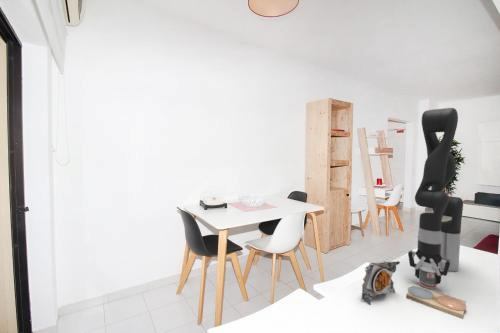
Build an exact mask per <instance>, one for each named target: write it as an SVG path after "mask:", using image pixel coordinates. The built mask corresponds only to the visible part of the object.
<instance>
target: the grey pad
mask: <svg viewBox="0 0 500 333" xmlns="http://www.w3.org/2000/svg"><path fill="white" fill-rule="evenodd" d="M417 286H418V285H417ZM417 286H412V285H410V286H409V287H408V288H407V293H408V292H409V293H410V294H412V295H413V296H415V297H418V298H421V299H433V298H434V295H433V293H432V292H430V291H429V290H430V289H429V290H427V289H428V288H426V289H424V288H425V287H423V286H420V287H417ZM422 287H423V288H422Z"/></svg>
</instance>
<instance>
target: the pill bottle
mask: <svg viewBox="0 0 500 333" xmlns="http://www.w3.org/2000/svg"><path fill="white" fill-rule="evenodd" d="M436 275H437V273H436V271H435V270H434V268H433V266H432V263H428V262H423V263H422V264H421V266H420V267H419V279H418V283H419V285H420V287H423V288H426V289H429V290H434V289H436V287H437V284H436Z"/></svg>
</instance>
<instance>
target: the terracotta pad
mask: <svg viewBox="0 0 500 333" xmlns="http://www.w3.org/2000/svg"><path fill="white" fill-rule="evenodd" d="M448 296H449V295H448ZM448 296H439V297H437V301H438V302H439V303H440V304H441V305H443V306H444V307H447V308H449V309H452V310H456V311H464V312H465V311H466V310H467V305H465V304H464V303H463V302H461V301H459V300H457V299H458V298H457V299H455V298H456V297H454V298H452V297H453V296H451V297H448Z"/></svg>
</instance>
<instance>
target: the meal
mask: <svg viewBox="0 0 500 333" xmlns="http://www.w3.org/2000/svg"><path fill="white" fill-rule="evenodd" d="M400 263H401V262H400V261H399V260H397V261H383V260H382V261H376V262H371V263H369V265H368V266H366V267H365V268H364V271H365V275H364V278H362V280H363V283H362V284H361V286H362V288H361V289H362V291H361V292H362V293H361V299H362V301H363V302H365V303H366V304H369V305H370V306H371V300H372V301H373V300H374V298H375V297H376V296H377V295H382V294H385V295H386V294H387V293H394V294H395V293H396V289H395V287H394V283H395V282H394V280H393V274H394V273H396V271H397V266H398V265H400Z"/></svg>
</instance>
